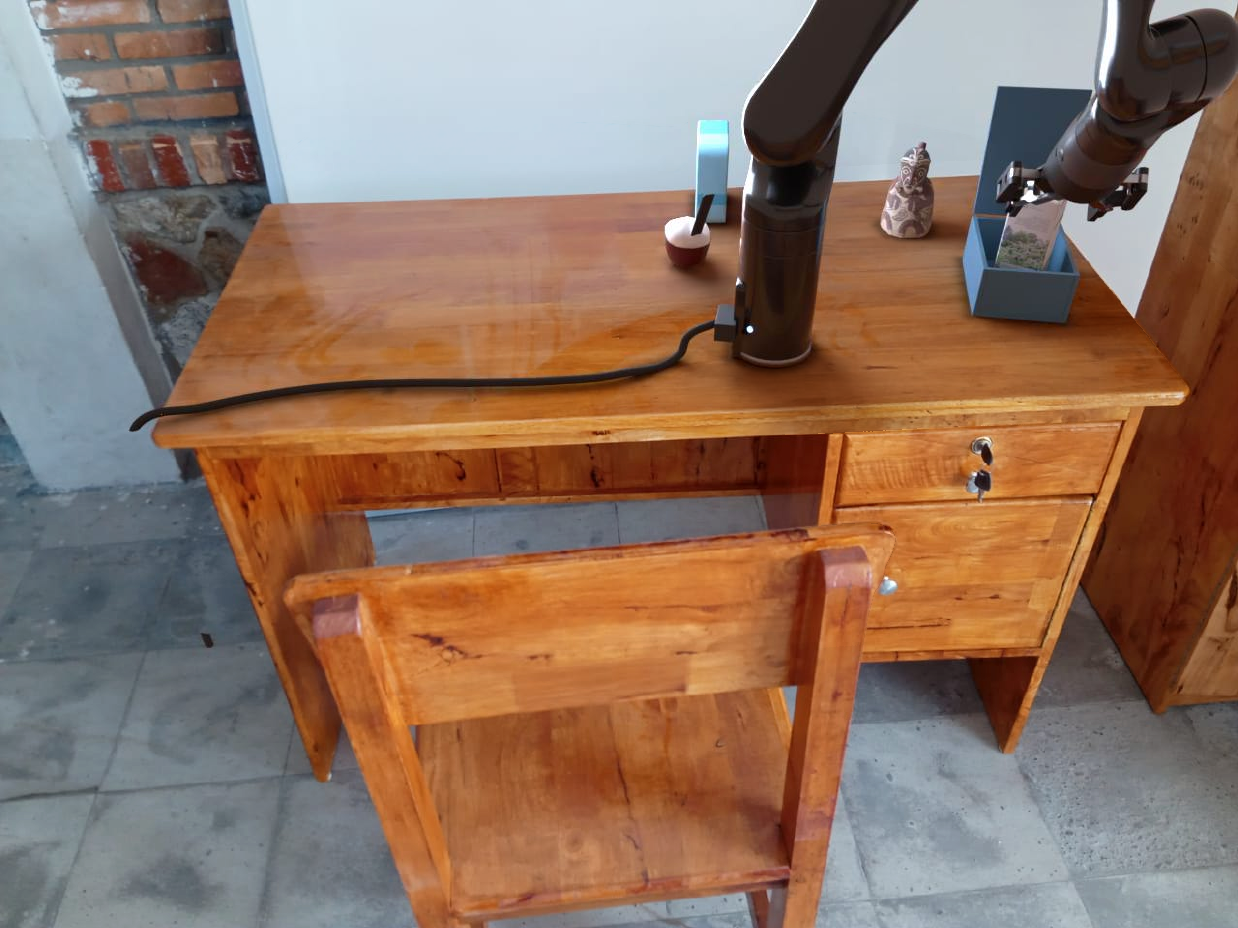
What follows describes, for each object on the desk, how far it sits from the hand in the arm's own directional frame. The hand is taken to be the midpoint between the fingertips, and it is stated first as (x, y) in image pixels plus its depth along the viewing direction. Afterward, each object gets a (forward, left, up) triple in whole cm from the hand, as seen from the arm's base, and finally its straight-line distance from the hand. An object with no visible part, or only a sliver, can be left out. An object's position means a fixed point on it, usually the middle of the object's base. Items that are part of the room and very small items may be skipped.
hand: (1051, 211), depth 110 cm
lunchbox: (0, +8, -15) cm, 17 cm away
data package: (-42, +27, -15) cm, 52 cm away
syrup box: (0, +6, -14) cm, 16 cm away
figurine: (-13, +25, -15) cm, 32 cm away
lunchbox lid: (0, +17, 0) cm, 17 cm away
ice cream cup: (-43, +9, -15) cm, 47 cm away
